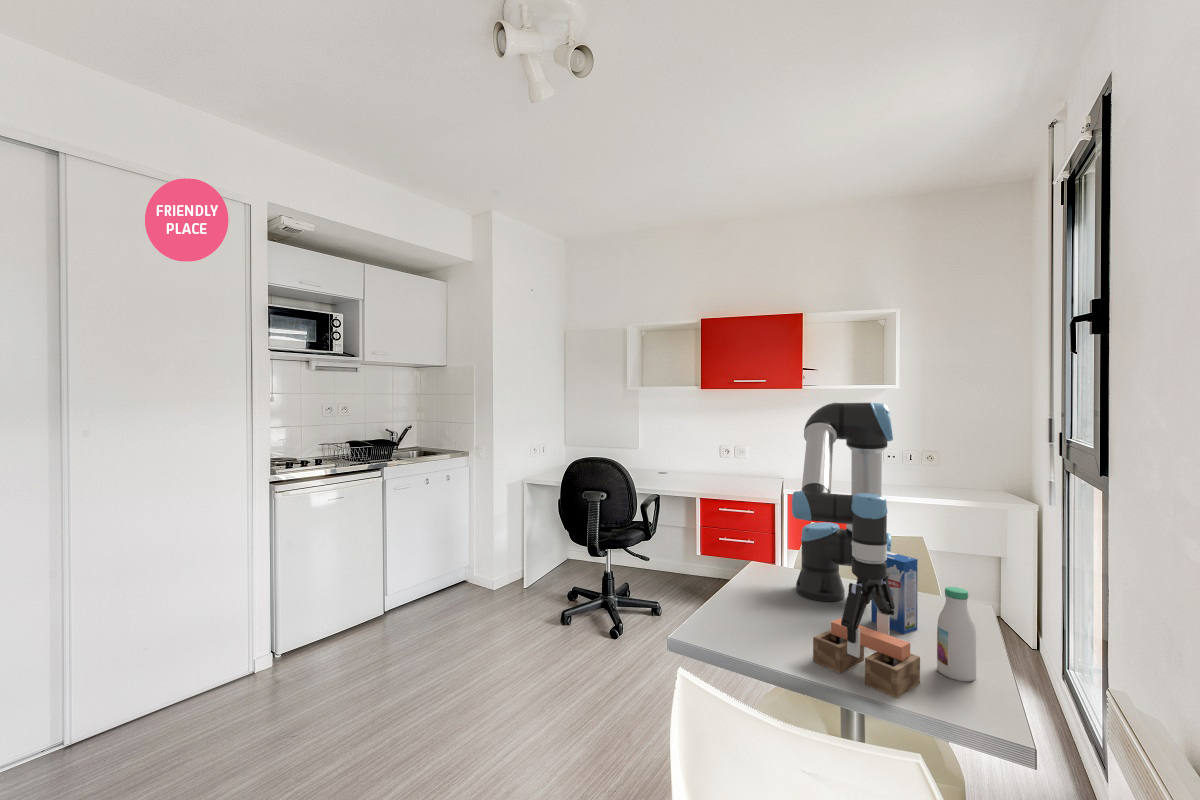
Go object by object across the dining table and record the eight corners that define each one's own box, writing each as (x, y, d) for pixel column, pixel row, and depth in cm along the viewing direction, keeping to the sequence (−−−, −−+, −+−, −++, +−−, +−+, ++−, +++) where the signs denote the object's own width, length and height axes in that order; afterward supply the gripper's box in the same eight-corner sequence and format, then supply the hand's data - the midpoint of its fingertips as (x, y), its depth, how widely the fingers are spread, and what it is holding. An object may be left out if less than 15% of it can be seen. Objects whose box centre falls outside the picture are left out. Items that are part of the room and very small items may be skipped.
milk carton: (871, 621, 156) (871, 553, 156) (884, 617, 159) (884, 550, 159) (904, 634, 147) (904, 562, 147) (917, 630, 150) (917, 559, 150)
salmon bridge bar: (831, 650, 133) (831, 621, 133) (839, 646, 136) (839, 618, 136) (901, 679, 120) (901, 647, 120) (910, 674, 122) (910, 642, 122)
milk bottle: (978, 673, 126) (978, 588, 126) (973, 686, 120) (973, 597, 120) (940, 662, 131) (940, 581, 131) (934, 674, 125) (934, 589, 125)
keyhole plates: (837, 649, 138) (837, 626, 138) (919, 683, 121) (920, 656, 121) (813, 661, 131) (813, 637, 131) (896, 698, 115) (896, 670, 115)
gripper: (879, 547, 138) (879, 628, 138) (825, 564, 124) (824, 655, 124) (910, 554, 132) (910, 639, 132) (856, 573, 117) (856, 669, 117)
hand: (868, 647), depth 128 cm, fingers open, 13 cm apart
